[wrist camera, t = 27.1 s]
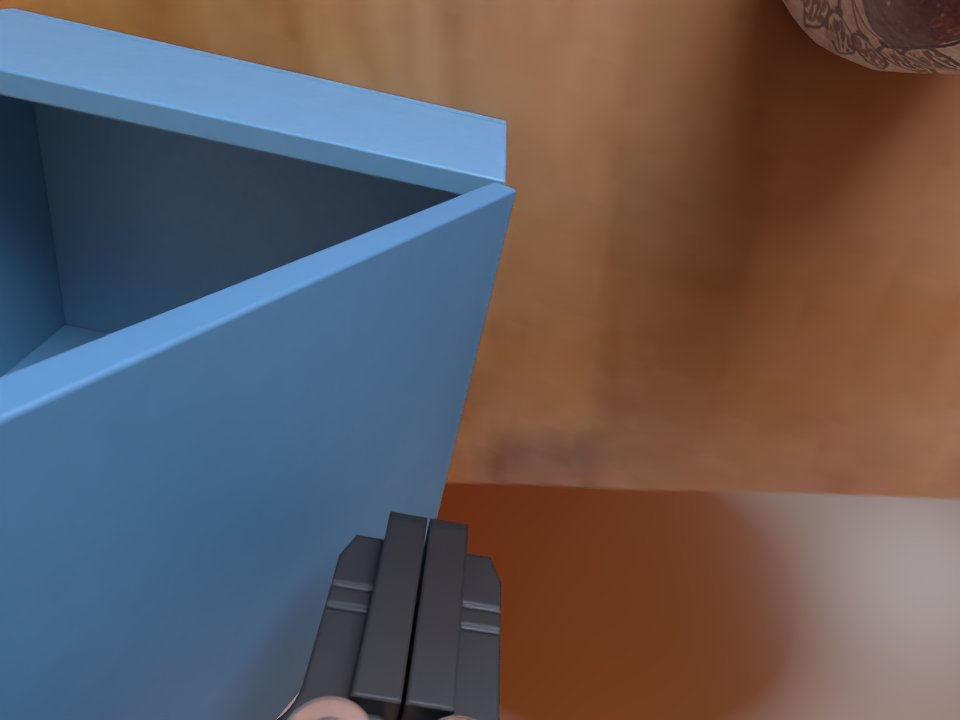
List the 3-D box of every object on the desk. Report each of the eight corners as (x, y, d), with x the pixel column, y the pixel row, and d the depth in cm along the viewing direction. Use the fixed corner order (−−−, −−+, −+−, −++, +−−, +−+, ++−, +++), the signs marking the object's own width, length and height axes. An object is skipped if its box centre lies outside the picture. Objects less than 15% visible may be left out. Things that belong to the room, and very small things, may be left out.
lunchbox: (61, 326, 25) (-67, 431, 20) (13, 7, 19) (-189, 26, 14) (444, 401, 26) (427, 520, 21) (507, 120, 21) (506, 180, 15)
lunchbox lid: (-289, 1317, 8) (-263, 1360, 8) (-1829, 1085, 2) (-1860, 1243, 2) (417, 524, 21) (433, 532, 20) (494, 180, 15) (517, 189, 15)
